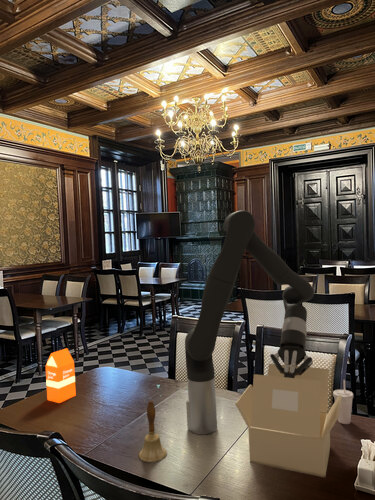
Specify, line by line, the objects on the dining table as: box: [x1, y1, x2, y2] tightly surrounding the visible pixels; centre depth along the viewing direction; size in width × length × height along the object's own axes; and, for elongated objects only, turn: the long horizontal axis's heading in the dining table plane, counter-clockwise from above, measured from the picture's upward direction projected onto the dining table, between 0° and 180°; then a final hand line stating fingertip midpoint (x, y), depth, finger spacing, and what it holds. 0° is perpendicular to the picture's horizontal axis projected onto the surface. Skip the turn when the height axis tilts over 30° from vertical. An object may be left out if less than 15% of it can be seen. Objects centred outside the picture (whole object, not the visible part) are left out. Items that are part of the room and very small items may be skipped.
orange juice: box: [45, 347, 77, 404], centre depth 161 cm, size 8×9×20 cm
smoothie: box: [332, 379, 354, 425], centre depth 128 cm, size 6×6×14 cm
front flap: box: [250, 374, 320, 438], centre depth 105 cm, size 18×14×1 cm
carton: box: [234, 363, 342, 478], centre depth 115 cm, size 28×26×20 cm
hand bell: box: [138, 400, 168, 463], centre depth 113 cm, size 8×8×16 cm
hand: (288, 386), depth 110 cm, fingers closed
